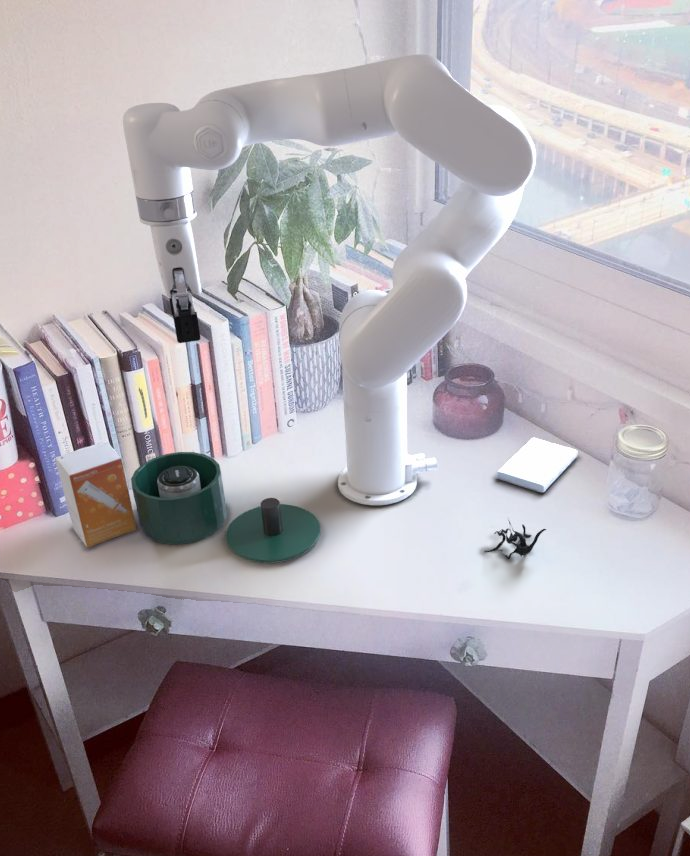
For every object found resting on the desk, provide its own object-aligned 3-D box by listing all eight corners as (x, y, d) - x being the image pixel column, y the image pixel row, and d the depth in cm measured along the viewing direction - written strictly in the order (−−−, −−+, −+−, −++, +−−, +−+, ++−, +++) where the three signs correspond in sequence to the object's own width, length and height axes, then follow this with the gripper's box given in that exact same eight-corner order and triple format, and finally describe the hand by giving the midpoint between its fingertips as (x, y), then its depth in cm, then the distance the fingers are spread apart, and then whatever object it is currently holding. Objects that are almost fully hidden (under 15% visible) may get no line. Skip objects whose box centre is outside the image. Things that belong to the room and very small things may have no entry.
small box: (87, 549, 134) (67, 475, 127) (72, 529, 139) (53, 456, 131) (138, 530, 138) (122, 457, 130) (122, 510, 142) (106, 439, 135)
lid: (310, 503, 142) (308, 470, 138) (329, 556, 130) (327, 521, 127) (221, 518, 139) (216, 485, 136) (233, 573, 128) (228, 539, 125)
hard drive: (496, 479, 145) (531, 444, 153) (543, 494, 141) (577, 457, 149) (496, 470, 144) (532, 436, 152) (544, 485, 140) (578, 449, 148)
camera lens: (167, 531, 136) (159, 488, 132) (161, 509, 141) (153, 466, 137) (208, 523, 138) (201, 479, 133) (201, 501, 142) (194, 458, 138)
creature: (474, 552, 131) (507, 571, 125) (471, 518, 129) (504, 536, 122) (519, 535, 134) (553, 553, 127) (516, 502, 132) (551, 519, 125)
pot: (221, 488, 146) (215, 446, 141) (231, 535, 135) (225, 491, 131) (139, 502, 144) (129, 459, 139) (142, 550, 133) (133, 506, 129)
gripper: (201, 222, 113) (219, 348, 123) (189, 186, 127) (205, 301, 137) (141, 229, 112) (163, 356, 122) (135, 192, 126) (155, 308, 136)
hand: (186, 327), depth 129 cm, fingers open, 9 cm apart
